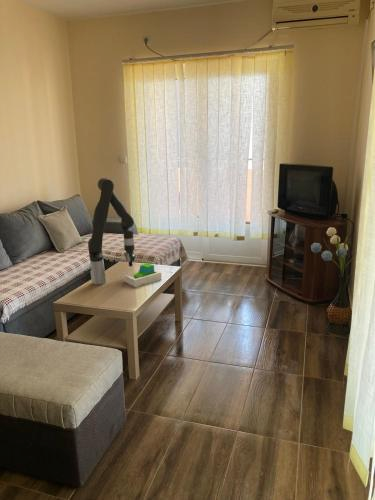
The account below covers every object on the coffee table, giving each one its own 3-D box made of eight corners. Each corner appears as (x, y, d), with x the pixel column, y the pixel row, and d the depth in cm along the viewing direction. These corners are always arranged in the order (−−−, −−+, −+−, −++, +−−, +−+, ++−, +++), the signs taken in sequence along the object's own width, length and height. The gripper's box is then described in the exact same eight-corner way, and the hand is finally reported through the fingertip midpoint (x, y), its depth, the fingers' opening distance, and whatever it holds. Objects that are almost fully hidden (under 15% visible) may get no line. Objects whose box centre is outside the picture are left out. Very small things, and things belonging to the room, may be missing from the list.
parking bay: (135, 287, 275) (134, 280, 274) (124, 281, 286) (124, 275, 285) (161, 279, 288) (161, 272, 286) (150, 274, 299) (149, 268, 298)
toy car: (132, 280, 289) (131, 267, 286) (147, 275, 298) (146, 262, 295) (141, 283, 282) (140, 270, 279) (155, 278, 290) (154, 265, 288)
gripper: (120, 243, 295) (121, 265, 300) (129, 246, 285) (130, 269, 290) (128, 241, 300) (130, 263, 304) (138, 244, 290) (139, 267, 294)
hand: (130, 266), depth 297 cm, fingers closed
